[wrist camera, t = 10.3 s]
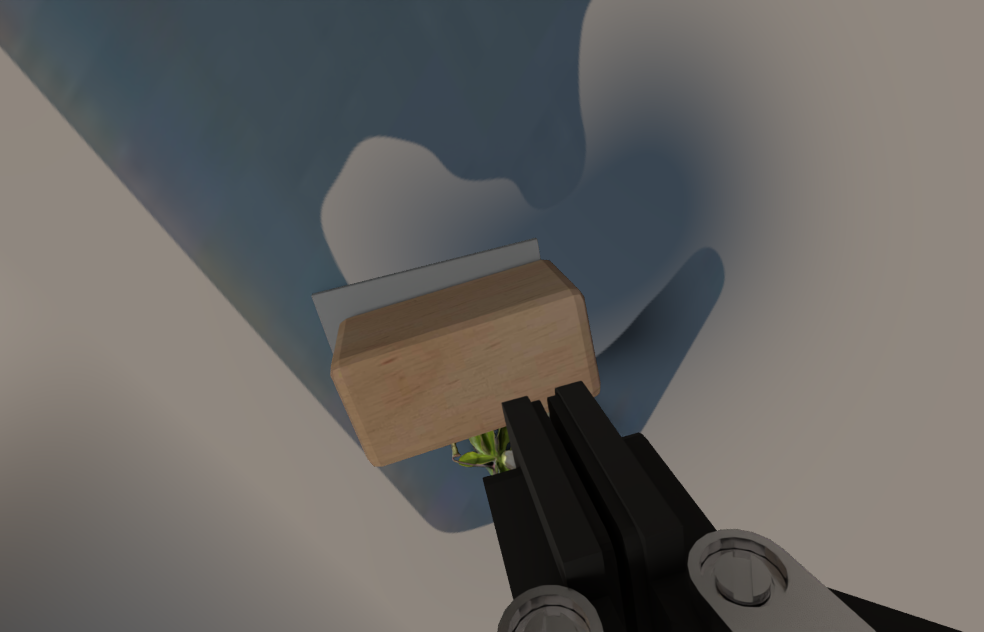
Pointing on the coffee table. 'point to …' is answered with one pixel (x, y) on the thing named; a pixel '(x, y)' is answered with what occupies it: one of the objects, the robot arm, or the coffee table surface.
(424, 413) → the block
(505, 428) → the passion flower
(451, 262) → the rubber mat
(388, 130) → the coffee table surface
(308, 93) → the coffee table surface
